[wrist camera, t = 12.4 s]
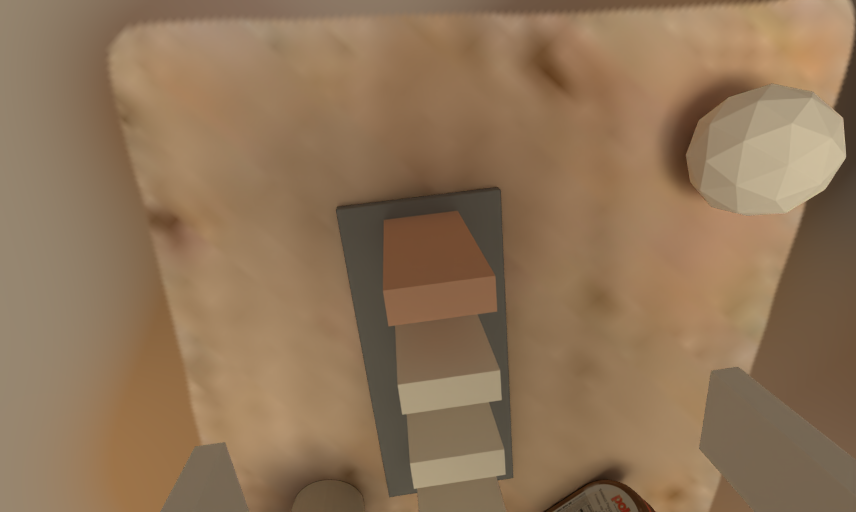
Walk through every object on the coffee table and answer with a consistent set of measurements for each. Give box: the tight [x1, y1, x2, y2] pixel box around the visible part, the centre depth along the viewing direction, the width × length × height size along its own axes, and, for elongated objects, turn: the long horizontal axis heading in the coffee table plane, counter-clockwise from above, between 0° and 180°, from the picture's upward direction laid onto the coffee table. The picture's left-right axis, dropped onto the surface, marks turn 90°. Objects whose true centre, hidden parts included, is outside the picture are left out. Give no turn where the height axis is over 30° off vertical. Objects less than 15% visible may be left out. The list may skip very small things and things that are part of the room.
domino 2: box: [395, 314, 502, 415], centre depth 27 cm, size 2×5×11 cm, turn 96°
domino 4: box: [417, 476, 506, 512], centre depth 30 cm, size 2×5×11 cm, turn 96°
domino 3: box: [407, 402, 506, 489], centre depth 29 cm, size 2×5×11 cm, turn 96°
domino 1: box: [383, 211, 497, 326], centre depth 25 cm, size 2×5×11 cm, turn 96°
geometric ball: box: [686, 84, 846, 216], centre depth 27 cm, size 8×8×8 cm
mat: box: [336, 187, 513, 497], centre depth 34 cm, size 26×11×1 cm, turn 6°
